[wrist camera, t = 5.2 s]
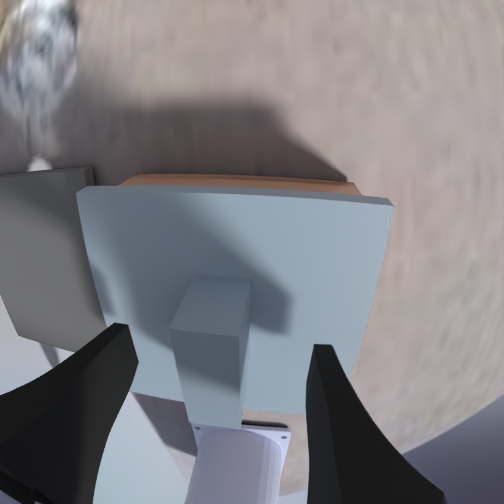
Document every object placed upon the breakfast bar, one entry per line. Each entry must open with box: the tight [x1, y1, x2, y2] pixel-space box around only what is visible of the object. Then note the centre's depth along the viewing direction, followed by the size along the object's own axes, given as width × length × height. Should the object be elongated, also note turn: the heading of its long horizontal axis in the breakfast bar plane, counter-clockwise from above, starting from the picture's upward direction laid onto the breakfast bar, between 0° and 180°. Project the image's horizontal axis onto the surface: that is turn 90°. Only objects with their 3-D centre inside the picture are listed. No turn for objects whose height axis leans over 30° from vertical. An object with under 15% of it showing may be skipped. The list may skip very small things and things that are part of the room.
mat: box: [0, 166, 107, 352], centre depth 17 cm, size 13×11×1 cm
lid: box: [76, 185, 394, 429], centre depth 12 cm, size 11×11×4 cm
